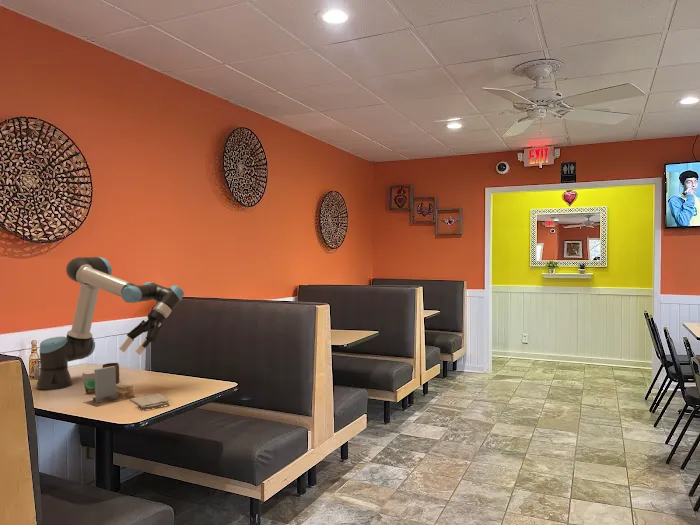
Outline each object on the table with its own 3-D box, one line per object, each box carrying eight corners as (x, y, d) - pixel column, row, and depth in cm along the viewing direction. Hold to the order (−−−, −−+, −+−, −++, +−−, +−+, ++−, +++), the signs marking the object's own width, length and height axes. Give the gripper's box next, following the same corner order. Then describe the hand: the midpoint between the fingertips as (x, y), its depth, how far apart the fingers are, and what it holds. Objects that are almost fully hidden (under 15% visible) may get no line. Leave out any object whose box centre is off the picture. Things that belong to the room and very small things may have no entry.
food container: (79, 397, 234) (78, 375, 233) (82, 394, 239) (82, 372, 239) (109, 395, 237) (108, 373, 237) (111, 391, 243) (111, 370, 243)
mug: (124, 384, 257) (123, 365, 257) (108, 387, 252) (107, 367, 252) (116, 380, 266) (116, 362, 266) (100, 383, 261) (100, 364, 261)
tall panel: (114, 398, 227) (113, 366, 227) (116, 398, 226) (115, 366, 226) (95, 402, 221) (94, 369, 221) (97, 403, 220) (96, 369, 220)
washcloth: (142, 412, 210) (142, 405, 210) (128, 403, 224) (128, 396, 224) (172, 406, 218) (171, 399, 218) (156, 398, 231) (156, 391, 231)
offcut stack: (124, 394, 234) (124, 383, 234) (134, 396, 229) (133, 385, 229) (113, 396, 230) (112, 385, 230) (122, 399, 225) (122, 388, 225)
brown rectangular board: (123, 395, 236) (123, 388, 236) (137, 399, 228) (137, 392, 228) (82, 404, 222) (82, 397, 222) (96, 409, 214) (96, 401, 214)
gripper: (180, 320, 238) (150, 359, 226) (149, 318, 253) (121, 354, 242) (169, 309, 233) (138, 348, 222) (139, 308, 249) (109, 344, 237)
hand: (129, 351), depth 232 cm, fingers open, 13 cm apart
